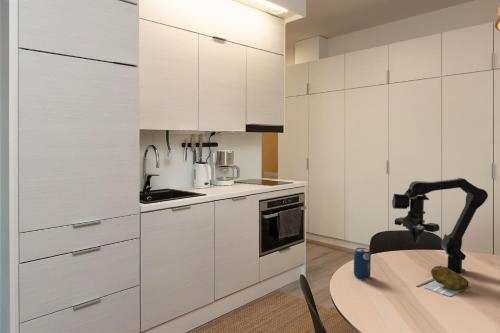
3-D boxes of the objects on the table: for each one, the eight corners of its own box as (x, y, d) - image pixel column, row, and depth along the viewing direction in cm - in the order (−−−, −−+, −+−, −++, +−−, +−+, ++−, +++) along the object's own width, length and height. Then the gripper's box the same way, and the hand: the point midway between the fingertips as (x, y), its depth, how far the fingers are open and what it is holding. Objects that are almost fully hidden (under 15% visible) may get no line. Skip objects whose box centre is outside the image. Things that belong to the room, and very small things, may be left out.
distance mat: (444, 279, 156) (444, 278, 156) (469, 286, 148) (469, 286, 148) (424, 288, 146) (424, 287, 146) (450, 296, 138) (450, 296, 138)
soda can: (372, 279, 155) (373, 252, 154) (356, 279, 156) (356, 252, 155) (367, 273, 162) (368, 247, 161) (351, 273, 162) (352, 247, 162)
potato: (463, 295, 139) (464, 275, 138) (428, 285, 148) (428, 266, 147) (470, 289, 145) (471, 269, 144) (435, 280, 154) (436, 261, 153)
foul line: (438, 276, 159) (438, 275, 159) (441, 277, 158) (441, 276, 158) (415, 286, 148) (415, 285, 148) (418, 287, 148) (418, 286, 148)
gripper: (387, 208, 169) (387, 241, 171) (427, 214, 154) (425, 251, 155) (401, 205, 176) (400, 237, 177) (440, 211, 161) (439, 246, 162)
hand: (415, 242), depth 168 cm, fingers closed
